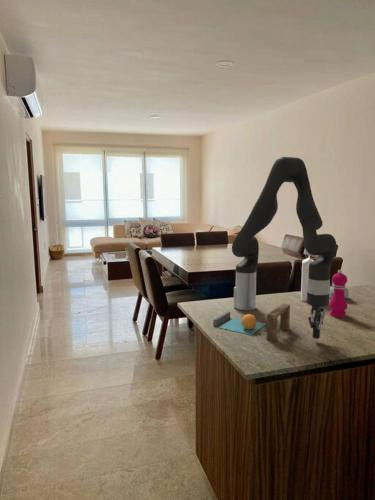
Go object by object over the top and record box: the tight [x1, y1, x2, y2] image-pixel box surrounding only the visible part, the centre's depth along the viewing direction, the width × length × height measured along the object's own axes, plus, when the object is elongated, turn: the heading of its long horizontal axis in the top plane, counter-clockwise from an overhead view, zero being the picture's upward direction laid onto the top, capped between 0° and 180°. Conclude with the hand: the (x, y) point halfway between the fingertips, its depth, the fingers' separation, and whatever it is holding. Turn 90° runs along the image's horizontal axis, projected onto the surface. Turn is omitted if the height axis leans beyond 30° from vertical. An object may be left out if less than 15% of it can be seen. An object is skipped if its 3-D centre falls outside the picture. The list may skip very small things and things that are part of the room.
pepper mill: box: [328, 269, 348, 318], centre depth 160 cm, size 7×7×20 cm
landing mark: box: [219, 317, 267, 336], centre depth 150 cm, size 14×14×1 cm
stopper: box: [212, 311, 231, 327], centre depth 155 cm, size 1×12×2 cm, turn 145°
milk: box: [300, 255, 315, 302], centre depth 183 cm, size 6×6×22 cm
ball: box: [241, 313, 258, 330], centre depth 146 cm, size 6×6×6 cm
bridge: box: [266, 303, 291, 342], centre depth 141 cm, size 3×15×10 cm, turn 145°
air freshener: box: [329, 280, 350, 299], centre depth 185 cm, size 11×8×10 cm
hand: (316, 337), depth 133 cm, fingers closed
